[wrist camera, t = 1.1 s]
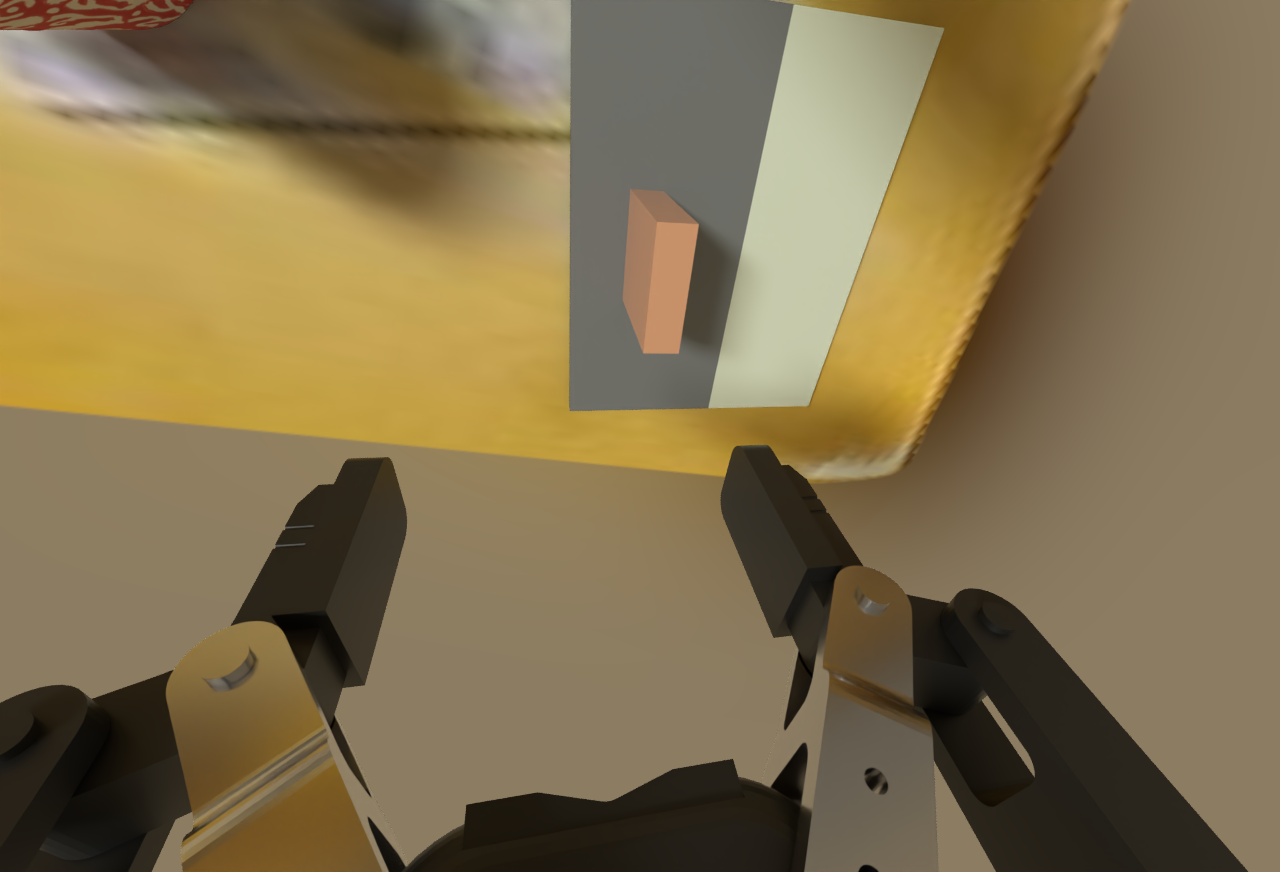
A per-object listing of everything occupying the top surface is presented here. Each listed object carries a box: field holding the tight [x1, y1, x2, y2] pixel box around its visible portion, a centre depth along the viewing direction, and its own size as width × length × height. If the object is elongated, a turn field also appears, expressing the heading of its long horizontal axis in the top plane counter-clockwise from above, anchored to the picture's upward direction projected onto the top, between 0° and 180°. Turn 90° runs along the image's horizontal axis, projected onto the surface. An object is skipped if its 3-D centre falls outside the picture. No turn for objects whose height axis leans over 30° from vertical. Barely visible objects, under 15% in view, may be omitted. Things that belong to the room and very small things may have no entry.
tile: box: [623, 189, 699, 354], centre depth 24 cm, size 6×2×7 cm, turn 174°
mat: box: [569, 0, 945, 411], centre depth 28 cm, size 22×18×1 cm
